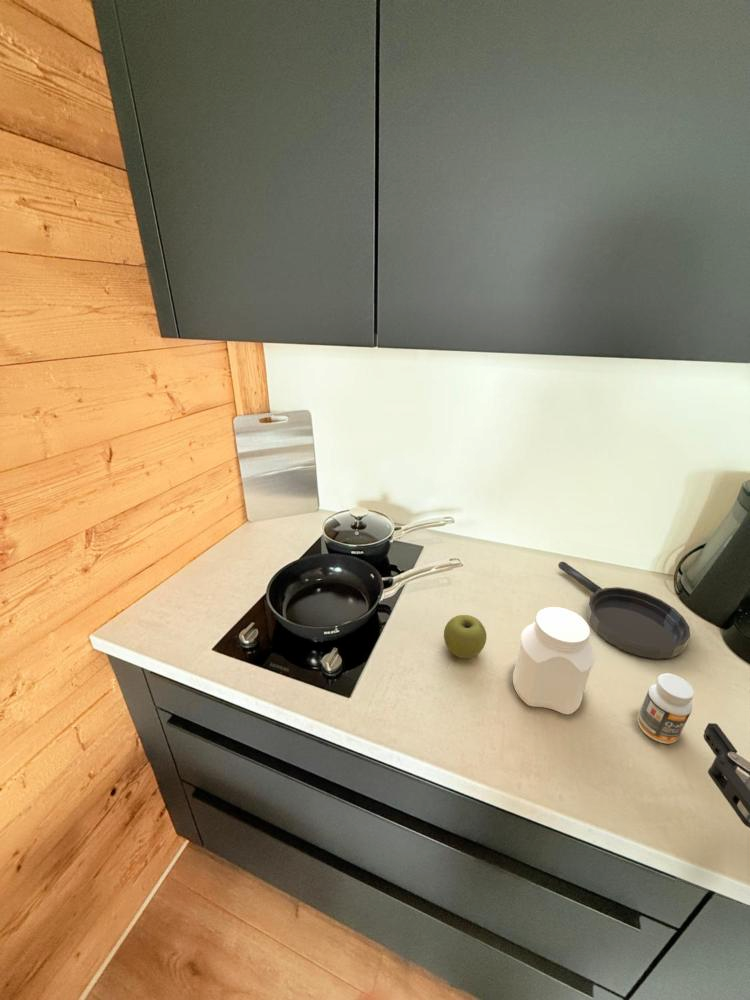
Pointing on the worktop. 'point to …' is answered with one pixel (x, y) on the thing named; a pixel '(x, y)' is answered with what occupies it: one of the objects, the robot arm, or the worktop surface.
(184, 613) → the worktop surface
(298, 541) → the worktop surface
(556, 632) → the jar
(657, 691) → the pill bottle
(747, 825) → the robot arm
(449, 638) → the apple
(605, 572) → the worktop surface
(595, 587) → the pan handle
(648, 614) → the pan
